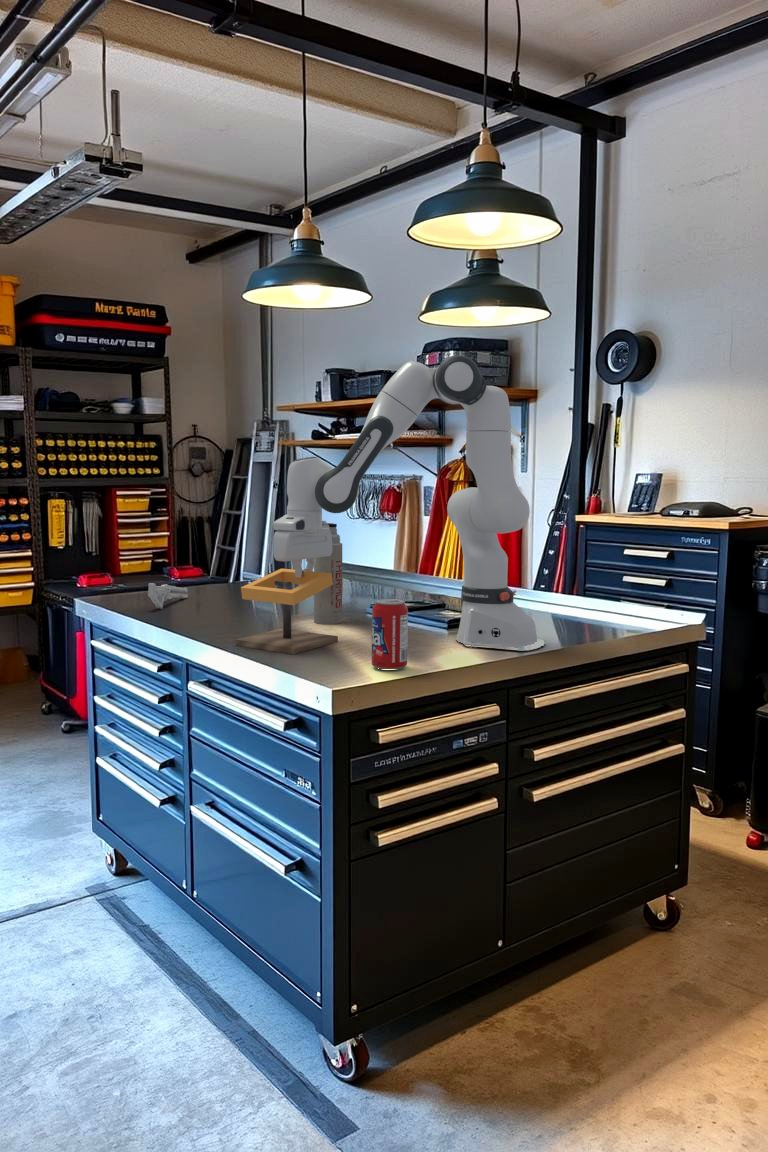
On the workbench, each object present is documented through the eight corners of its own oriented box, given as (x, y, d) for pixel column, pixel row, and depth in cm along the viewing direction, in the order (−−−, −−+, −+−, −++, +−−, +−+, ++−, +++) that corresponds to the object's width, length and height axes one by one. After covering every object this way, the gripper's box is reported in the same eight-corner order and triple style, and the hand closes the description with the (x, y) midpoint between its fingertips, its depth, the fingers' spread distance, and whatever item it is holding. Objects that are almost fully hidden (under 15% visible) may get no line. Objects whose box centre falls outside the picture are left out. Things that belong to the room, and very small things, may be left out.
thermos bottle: (347, 622, 251) (348, 523, 248) (324, 625, 246) (325, 524, 243) (331, 618, 257) (331, 522, 254) (308, 621, 252) (308, 523, 249)
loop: (332, 584, 222) (331, 573, 221) (294, 605, 209) (292, 593, 208) (282, 579, 230) (281, 568, 229) (242, 599, 217) (240, 587, 216)
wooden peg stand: (337, 641, 223) (337, 581, 221) (293, 654, 208) (293, 589, 206) (281, 634, 233) (281, 575, 231) (235, 645, 218) (234, 582, 216)
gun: (146, 608, 264) (148, 582, 265) (182, 610, 294) (183, 586, 294) (153, 608, 264) (154, 582, 264) (188, 610, 294) (189, 587, 294)
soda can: (408, 672, 192) (409, 603, 190) (372, 672, 191) (372, 603, 189) (405, 664, 199) (406, 598, 198) (370, 664, 199) (371, 598, 197)
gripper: (318, 519, 233) (318, 571, 235) (268, 523, 216) (268, 579, 218) (338, 520, 230) (337, 573, 231) (289, 524, 213) (288, 581, 214)
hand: (303, 576), depth 224 cm, fingers closed on loop, 2 cm apart
